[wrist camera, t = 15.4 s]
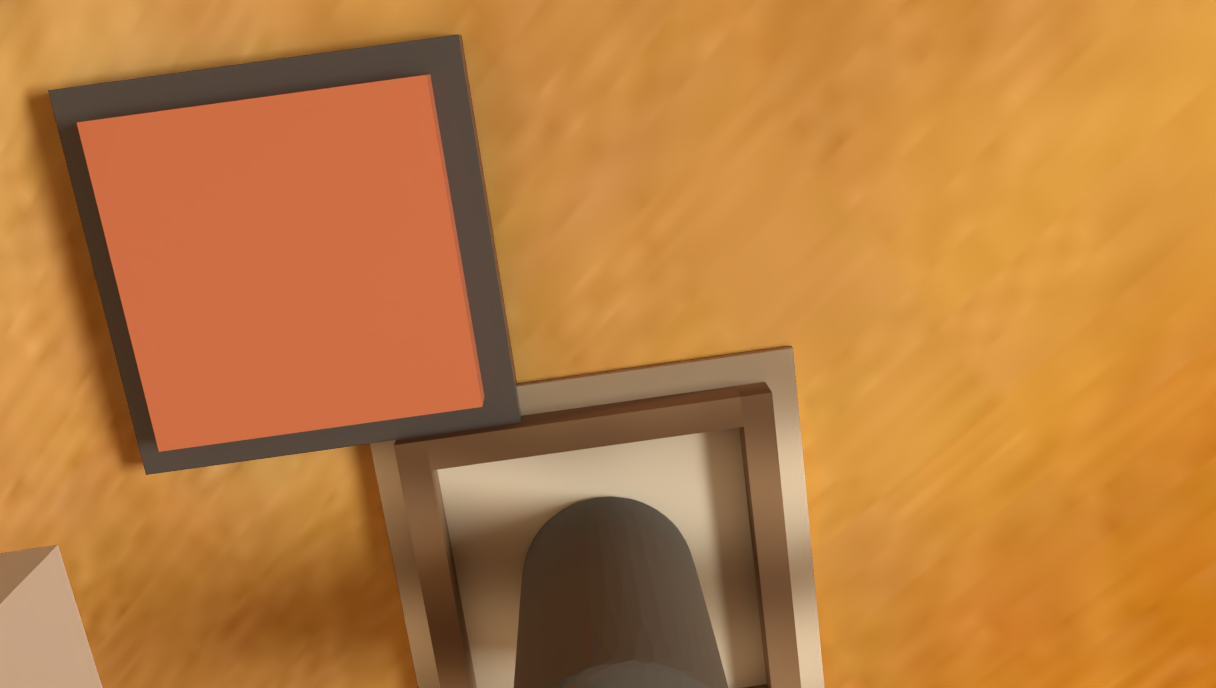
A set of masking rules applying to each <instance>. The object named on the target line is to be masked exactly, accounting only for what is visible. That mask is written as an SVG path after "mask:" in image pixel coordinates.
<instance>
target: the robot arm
mask: <svg viewBox="0 0 1216 688" xmlns="http://www.w3.org/2000/svg"><path fill="white" fill-rule="evenodd" d="M0 688H102V684H101V681H100V678H99V675H98V672H97V668H96V665H95V662H94V659H93V656H92V652H91V649H90V646H89V643H88V640H87V637H86V633H85V630H84V627H83V624H82V621H81V617H80V614H79V611H78V608H77V605H76V601H75V598H74V595H73V592H72V589H71V586H70V582H69V579H68V576H67V573H66V570H65V566H64V563H63V560H62V557H61V554H60V550H59V547H58V545H54V546H47V547H40V548H33V549H26V550H19V551H13V552H6V553H0Z"/></svg>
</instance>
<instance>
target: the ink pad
mask: <svg viewBox="0 0 1216 688" xmlns="http://www.w3.org/2000/svg"><path fill="white" fill-rule="evenodd" d="M48 92H49V96H50V100H51V104H52V108H53V112H54V116H55V119H56V123H57V127H58V131H59V135H60V139H61V143H62V147H63V151H64V155H65V159H66V163H67V167H68V170H69V174H70V178H71V182H72V186H73V190H74V194H75V198H76V202H77V206H78V210H79V214H80V218H81V222H82V225H83V229H84V233H85V237H86V241H87V245H88V249H89V253H90V257H91V261H92V265H93V269H94V273H95V277H96V280H97V284H98V288H99V292H100V296H101V300H102V304H103V308H104V312H105V316H106V320H107V324H108V328H109V331H110V335H111V339H112V343H113V347H114V351H115V355H116V359H117V363H118V367H119V371H120V375H121V379H122V383H123V386H124V390H125V394H126V398H127V402H128V406H129V410H130V414H131V418H132V422H133V426H134V430H135V434H136V437H137V441H138V445H139V449H140V453H141V457H142V461H143V465H144V469H145V473H146V475H148V474H155V473H163V472H170V471H177V470H184V469H191V468H199V467H206V466H213V465H220V464H227V463H234V462H242V461H249V460H256V459H263V458H270V457H277V456H285V455H292V454H299V453H306V452H313V451H321V450H328V449H335V448H342V447H349V446H356V445H364V444H371V443H378V442H385V441H392V440H399V439H407V438H414V437H421V436H428V435H435V434H443V433H450V432H457V431H464V430H471V429H478V428H486V427H493V426H500V425H507V424H514V423H521V410H520V404H519V398H518V391H517V380H516V374H515V368H514V362H513V355H512V349H511V343H510V337H509V330H508V324H507V318H506V312H505V305H504V299H503V293H502V287H501V280H500V274H499V268H498V262H497V255H496V249H495V243H494V236H493V230H492V224H491V218H490V211H489V205H488V199H487V193H486V186H485V180H484V174H483V168H482V161H481V155H480V149H479V143H478V136H477V130H476V124H475V118H474V111H473V105H472V99H471V93H470V86H469V80H468V74H467V67H466V61H465V55H464V49H463V42H462V36H461V35H452V36H444V37H437V38H430V39H422V40H415V41H408V42H400V43H393V44H386V45H378V46H371V47H364V48H356V49H349V50H342V51H334V52H327V53H320V54H312V55H305V56H298V57H290V58H283V59H276V60H268V61H261V62H254V63H246V64H239V65H232V66H224V67H217V68H210V69H202V70H195V71H188V72H180V73H173V74H166V75H158V76H151V77H144V78H136V79H129V80H122V81H114V82H107V83H100V84H92V85H85V86H78V87H70V88H63V89H55V90H48Z"/></svg>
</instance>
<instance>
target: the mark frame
mask: <svg viewBox="0 0 1216 688" xmlns="http://www.w3.org/2000/svg"><path fill="white" fill-rule="evenodd" d="M517 391H518V398H519V404H520V410H521V423H514V424H507V425H500V426H493V427H486V428H478V429H471V430H464V431H457V432H450V433H443V434H435V435H428V436H421V437H414V438H407V439H399V440H392V441H385V442H378V443H371V444H370V447H371V452H372V457H373V462H374V467H375V472H376V477H377V482H378V488H379V493H380V498H381V503H382V508H383V513H384V518H385V523H386V528H387V533H388V538H389V543H390V548H391V553H392V558H393V563H394V568H395V573H396V578H397V583H398V589H399V594H400V599H401V604H402V609H403V614H404V619H405V624H406V629H407V634H408V639H409V644H410V649H411V654H412V659H413V664H414V669H415V674H416V679H417V684H418V688H514V675H515V662H516V648H517V635H518V621H519V607H520V595H521V583H522V572H523V567H524V563H525V559H526V554H527V552H528V549H529V547H530V545H531V543H532V541H533V539H534V537H535V536H536V534H537V533H538V532H539V530H540V529H541V528H542V527H543V525H544V524H545V523H546V522H547V521H548V520H549V519H550V518H552V517H553V516H554V515H556V514H557V513H559V512H560V511H561V510H563V509H565V508H567V507H569V506H571V505H573V504H575V503H577V502H581V501H584V500H588V499H592V498H597V497H611V496H613V497H621V498H629V499H634V500H637V501H640V502H643V503H645V504H647V505H649V506H651V507H653V508H655V509H656V510H658V511H659V512H661V513H662V514H664V515H665V516H666V517H667V518H668V519H669V520H671V521H672V522H673V523H674V525H675V526H676V527H677V528H678V529H679V531H680V532H681V534H682V536H683V537H684V539H685V540H686V543H687V545H688V547H689V549H690V552H691V555H692V558H693V561H694V564H695V567H696V570H697V574H698V578H699V581H700V585H701V588H702V592H703V596H704V599H705V603H706V606H707V610H708V614H709V617H710V621H711V624H712V628H713V631H714V635H715V639H716V643H717V646H718V650H719V654H720V658H721V661H722V665H723V669H724V673H725V676H726V680H727V684H728V688H824V678H823V668H822V657H821V646H820V635H819V624H818V614H817V603H816V592H815V581H814V570H813V560H812V549H811V538H810V527H809V516H808V505H807V495H806V484H805V473H804V462H803V451H802V441H801V430H800V419H799V408H798V397H797V387H796V376H795V365H794V354H793V348H792V346H786V347H779V348H772V349H764V350H757V351H750V352H743V353H736V354H728V355H721V356H714V357H707V358H700V359H692V360H685V361H678V362H671V363H664V364H656V365H649V366H642V367H635V368H628V369H620V370H613V371H606V372H599V373H592V374H585V375H577V376H570V377H563V378H556V379H549V380H541V381H534V382H527V383H520V384H517Z"/></svg>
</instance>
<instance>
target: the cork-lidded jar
mask: <svg viewBox="0 0 1216 688" xmlns="http://www.w3.org/2000/svg"><path fill="white" fill-rule="evenodd" d="M514 688H728V684H727V680H726V676H725V673H724V669H723V665H722V661H721V658H720V654H719V650H718V646H717V643H716V639H715V635H714V631H713V628H712V624H711V621H710V617H709V614H708V610H707V606H706V603H705V599H704V596H703V592H702V588H701V585H700V581H699V578H698V574H697V570H696V567H695V564H694V561H693V558H692V555H691V552H690V549H689V547H688V545H687V543H686V540H685V539H684V537H683V536H682V534H681V532H680V531H679V529H678V528H677V527H676V526H675V525H674V523H673V522H672V521H671V520H669V519H668V518H667V517H666V516H665V515H664V514H662V513H661V512H659V511H658V510H656V509H655V508H653V507H651V506H649V505H647V504H645V503H643V502H640V501H637V500H634V499H629V498H621V497H613V496H611V497H597V498H592V499H588V500H584V501H581V502H577V503H575V504H573V505H571V506H569V507H567V508H565V509H563V510H561V511H560V512H559V513H557V514H556V515H554V516H553V517H552V518H550V519H549V520H548V521H547V522H546V523H545V524H544V525H543V527H542V528H541V529H540V530H539V532H538V533H537V534H536V536H535V537H534V539H533V541H532V543H531V545H530V547H529V549H528V552H527V554H526V559H525V563H524V567H523V572H522V583H521V595H520V607H519V621H518V635H517V648H516V662H515V675H514Z"/></svg>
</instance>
